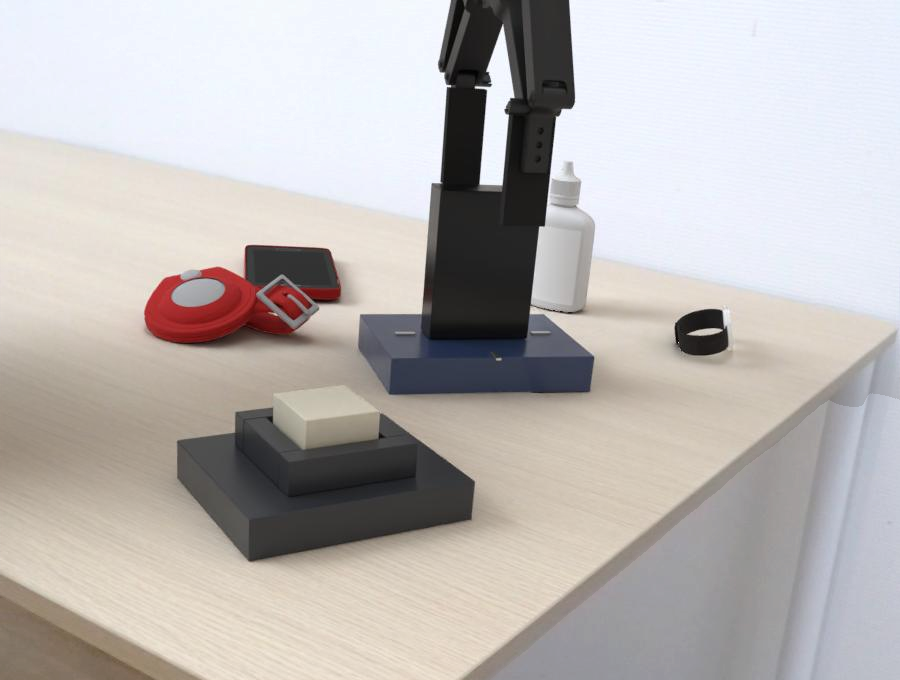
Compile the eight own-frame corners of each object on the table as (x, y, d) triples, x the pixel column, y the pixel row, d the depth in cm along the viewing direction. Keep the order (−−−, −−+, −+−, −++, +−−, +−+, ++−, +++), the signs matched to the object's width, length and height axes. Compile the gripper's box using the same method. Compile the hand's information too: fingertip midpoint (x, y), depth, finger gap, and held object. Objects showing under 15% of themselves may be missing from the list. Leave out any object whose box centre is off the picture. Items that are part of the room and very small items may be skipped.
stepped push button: (248, 563, 53) (250, 482, 52) (176, 478, 61) (176, 406, 60) (471, 520, 59) (479, 447, 58) (380, 448, 67) (384, 382, 66)
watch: (734, 367, 87) (743, 320, 86) (670, 359, 88) (678, 312, 86) (730, 339, 94) (738, 295, 93) (671, 331, 95) (678, 287, 93)
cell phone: (329, 258, 108) (330, 247, 107) (342, 301, 94) (342, 290, 94) (244, 254, 106) (244, 243, 106) (244, 298, 93) (244, 286, 93)
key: (304, 454, 56) (306, 420, 56) (272, 425, 60) (273, 392, 59) (378, 443, 58) (380, 410, 58) (343, 415, 62) (344, 384, 61)
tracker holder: (146, 333, 79) (130, 263, 87) (161, 386, 82) (144, 313, 90) (320, 294, 82) (290, 229, 89) (329, 346, 85) (299, 279, 92)
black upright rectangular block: (429, 339, 79) (441, 186, 75) (420, 328, 81) (431, 179, 77) (527, 338, 81) (543, 189, 77) (516, 328, 83) (531, 182, 79)
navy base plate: (391, 398, 75) (393, 359, 74) (356, 344, 85) (358, 309, 84) (593, 394, 79) (598, 357, 78) (537, 343, 89) (541, 309, 88)
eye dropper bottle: (547, 316, 96) (564, 167, 92) (513, 297, 101) (527, 155, 96) (591, 313, 98) (610, 167, 93) (556, 295, 103) (572, 155, 98)
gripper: (668, -167, 59) (615, 247, 68) (512, -139, 81) (486, 170, 90) (528, -183, 57) (491, 246, 65) (407, -150, 79) (390, 168, 87)
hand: (488, 203), depth 78 cm, fingers open, 13 cm apart
